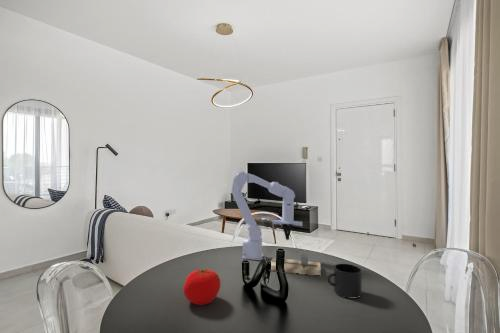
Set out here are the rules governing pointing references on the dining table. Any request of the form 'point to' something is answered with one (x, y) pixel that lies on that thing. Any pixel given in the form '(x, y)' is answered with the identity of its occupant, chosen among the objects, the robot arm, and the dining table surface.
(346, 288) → the mug
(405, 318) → the dining table surface
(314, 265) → the board
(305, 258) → the fader tab
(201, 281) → the tomato
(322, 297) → the dining table surface
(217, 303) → the dining table surface
